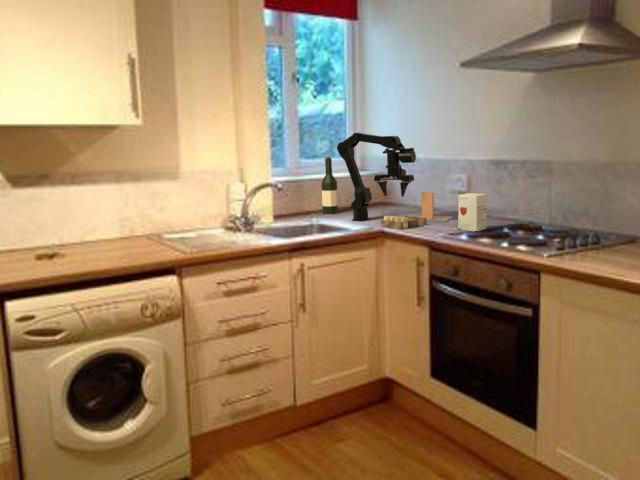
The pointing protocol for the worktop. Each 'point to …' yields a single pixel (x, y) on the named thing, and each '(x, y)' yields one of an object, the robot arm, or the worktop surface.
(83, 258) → the worktop surface
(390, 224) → the walnut rack
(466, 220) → the supplement box
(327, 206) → the wine bottle
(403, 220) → the oak offcut
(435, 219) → the slate tile
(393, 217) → the ash offcut
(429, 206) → the orange rectangular block
